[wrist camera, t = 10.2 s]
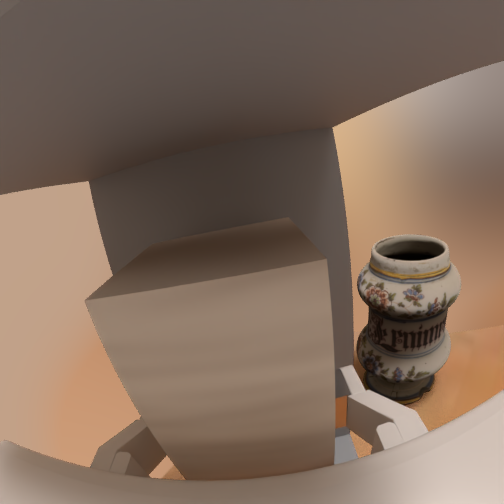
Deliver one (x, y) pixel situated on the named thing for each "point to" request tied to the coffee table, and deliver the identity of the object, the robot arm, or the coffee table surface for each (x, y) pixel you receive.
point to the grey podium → (218, 110)
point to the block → (227, 349)
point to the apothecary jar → (406, 315)
